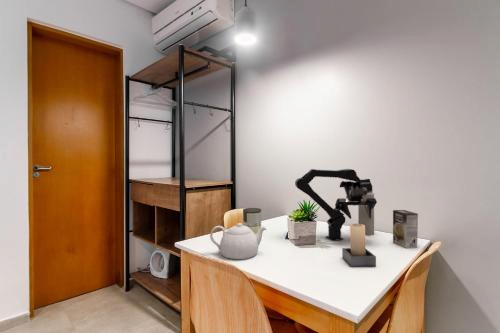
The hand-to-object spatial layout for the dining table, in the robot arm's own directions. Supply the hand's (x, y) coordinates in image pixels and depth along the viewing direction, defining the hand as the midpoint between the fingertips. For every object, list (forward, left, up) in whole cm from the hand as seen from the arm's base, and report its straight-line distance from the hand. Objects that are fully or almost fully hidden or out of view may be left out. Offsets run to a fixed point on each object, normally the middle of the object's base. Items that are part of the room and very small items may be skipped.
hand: (360, 218), depth 124 cm
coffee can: (-37, -42, -14) cm, 58 cm away
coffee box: (+5, +21, -14) cm, 26 cm away
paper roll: (+15, -14, -13) cm, 24 cm away
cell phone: (-27, -22, -14) cm, 38 cm away
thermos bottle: (-17, +18, -14) cm, 29 cm away
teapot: (-11, -57, -14) cm, 59 cm away
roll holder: (+15, -14, -14) cm, 24 cm away
